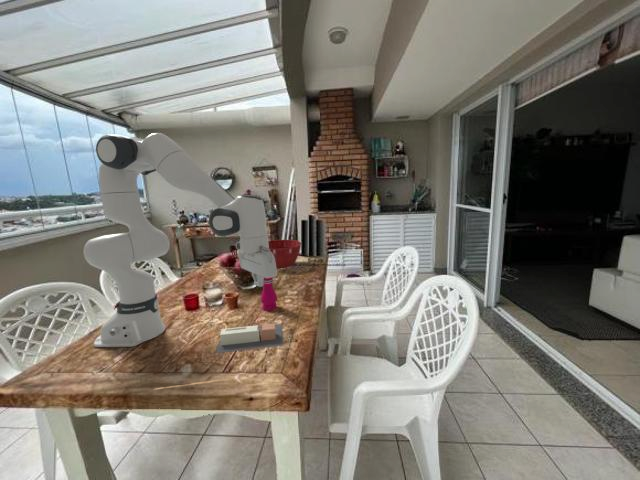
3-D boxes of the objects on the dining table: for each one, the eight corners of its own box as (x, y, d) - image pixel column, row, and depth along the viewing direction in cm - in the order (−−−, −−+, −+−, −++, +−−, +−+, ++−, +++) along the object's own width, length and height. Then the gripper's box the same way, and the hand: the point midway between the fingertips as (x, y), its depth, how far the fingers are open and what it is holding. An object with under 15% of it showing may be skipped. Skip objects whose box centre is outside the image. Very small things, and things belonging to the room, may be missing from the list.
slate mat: (215, 354, 93) (215, 353, 93) (223, 331, 108) (223, 330, 108) (283, 346, 96) (283, 345, 96) (281, 325, 111) (281, 324, 111)
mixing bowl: (311, 264, 193) (310, 242, 190) (277, 275, 173) (276, 250, 170) (284, 258, 213) (283, 238, 210) (251, 267, 192) (249, 244, 189)
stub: (261, 340, 100) (260, 329, 99) (261, 334, 104) (260, 324, 103) (275, 339, 100) (274, 328, 100) (275, 333, 104) (274, 322, 103)
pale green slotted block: (221, 345, 98) (219, 334, 97) (223, 339, 102) (221, 328, 101) (259, 341, 100) (258, 330, 99) (260, 335, 103) (259, 324, 103)
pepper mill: (274, 311, 123) (271, 267, 119) (258, 311, 125) (255, 267, 121) (280, 304, 130) (277, 262, 126) (265, 304, 131) (261, 262, 128)
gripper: (279, 246, 86) (283, 290, 89) (250, 240, 102) (254, 277, 105) (260, 250, 83) (265, 295, 85) (233, 243, 98) (238, 281, 101)
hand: (259, 285), depth 95 cm, fingers closed
